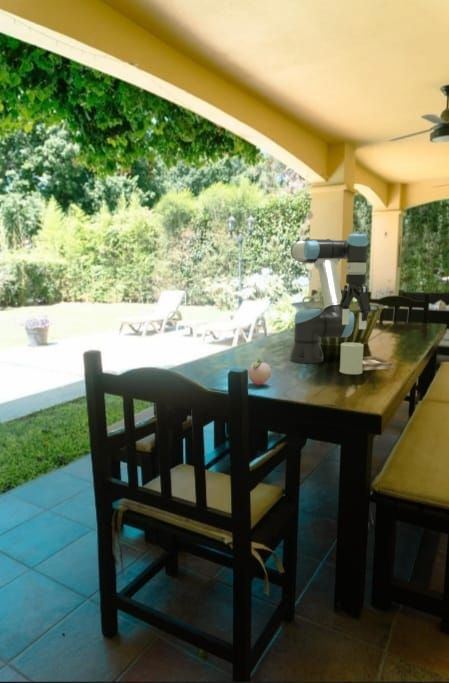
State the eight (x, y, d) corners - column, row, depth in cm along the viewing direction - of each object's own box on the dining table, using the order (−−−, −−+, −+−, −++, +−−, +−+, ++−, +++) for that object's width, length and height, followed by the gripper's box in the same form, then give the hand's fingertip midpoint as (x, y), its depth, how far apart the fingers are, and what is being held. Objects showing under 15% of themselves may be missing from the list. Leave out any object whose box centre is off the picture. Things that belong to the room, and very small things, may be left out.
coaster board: (362, 370, 189) (363, 364, 189) (346, 363, 203) (346, 357, 202) (392, 368, 192) (393, 362, 192) (374, 361, 206) (375, 356, 205)
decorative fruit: (269, 389, 161) (270, 362, 159) (247, 388, 162) (247, 361, 160) (271, 383, 170) (272, 356, 168) (250, 382, 171) (250, 356, 170)
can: (350, 375, 181) (351, 345, 179) (334, 370, 189) (335, 342, 187) (367, 372, 185) (368, 343, 183) (351, 368, 193) (352, 340, 191)
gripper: (332, 273, 191) (330, 323, 195) (364, 274, 167) (361, 331, 171) (348, 273, 193) (346, 322, 197) (382, 274, 169) (379, 330, 173)
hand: (353, 326), depth 184 cm, fingers open, 13 cm apart
